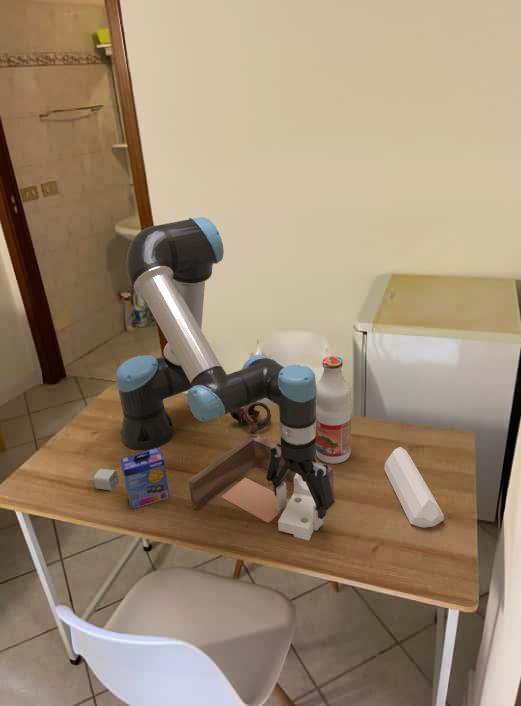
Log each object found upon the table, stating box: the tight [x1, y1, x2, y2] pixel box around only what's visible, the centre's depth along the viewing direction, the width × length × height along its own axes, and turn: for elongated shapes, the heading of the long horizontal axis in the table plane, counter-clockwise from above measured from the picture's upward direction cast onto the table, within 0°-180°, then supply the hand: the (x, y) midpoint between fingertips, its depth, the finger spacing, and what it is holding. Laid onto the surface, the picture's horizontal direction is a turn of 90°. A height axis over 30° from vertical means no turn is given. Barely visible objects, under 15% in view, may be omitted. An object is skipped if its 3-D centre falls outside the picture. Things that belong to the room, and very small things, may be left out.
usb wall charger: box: [86, 468, 119, 491], centre depth 141 cm, size 4×7×4 cm, turn 76°
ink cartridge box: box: [119, 447, 171, 510], centre depth 133 cm, size 10×6×14 cm, turn 113°
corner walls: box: [188, 433, 334, 511], centre depth 131 cm, size 25×23×8 cm
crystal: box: [383, 446, 445, 529], centre depth 130 cm, size 7×7×24 cm
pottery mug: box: [229, 401, 272, 434], centre depth 162 cm, size 12×10×8 cm
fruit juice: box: [315, 355, 352, 465], centre depth 142 cm, size 9×9×28 cm
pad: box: [220, 477, 291, 524], centre depth 133 cm, size 15×9×1 cm, turn 50°
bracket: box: [277, 473, 316, 541], centre depth 125 cm, size 13×7×8 cm, turn 157°
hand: (299, 516), depth 126 cm, fingers open, 10 cm apart
